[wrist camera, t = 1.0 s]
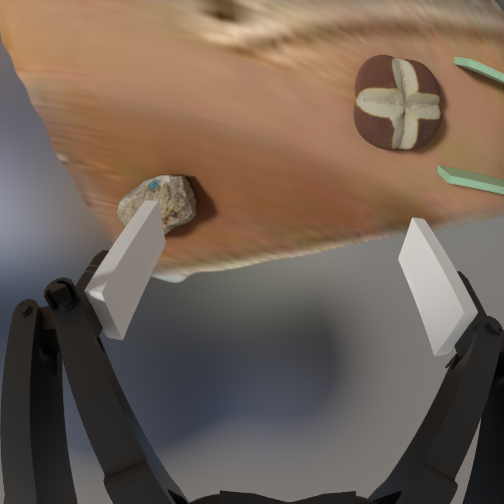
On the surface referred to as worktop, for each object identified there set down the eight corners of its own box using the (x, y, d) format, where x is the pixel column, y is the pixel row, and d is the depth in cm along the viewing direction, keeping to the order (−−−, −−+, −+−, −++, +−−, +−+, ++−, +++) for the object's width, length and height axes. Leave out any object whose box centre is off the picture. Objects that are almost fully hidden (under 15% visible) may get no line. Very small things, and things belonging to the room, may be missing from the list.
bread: (345, 139, 33) (355, 152, 29) (354, 48, 27) (366, 46, 23) (426, 153, 33) (443, 167, 29) (440, 69, 26) (460, 73, 22)
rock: (208, 206, 40) (201, 222, 37) (148, 237, 44) (138, 255, 41) (176, 159, 37) (165, 172, 33) (117, 198, 40) (104, 213, 37)
